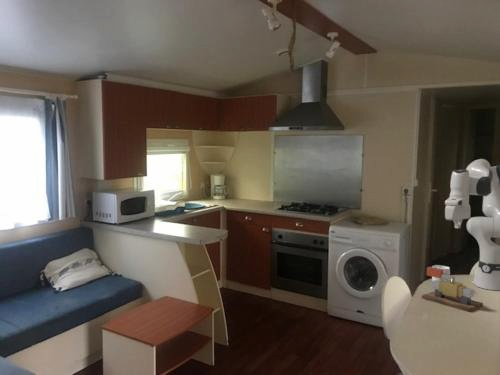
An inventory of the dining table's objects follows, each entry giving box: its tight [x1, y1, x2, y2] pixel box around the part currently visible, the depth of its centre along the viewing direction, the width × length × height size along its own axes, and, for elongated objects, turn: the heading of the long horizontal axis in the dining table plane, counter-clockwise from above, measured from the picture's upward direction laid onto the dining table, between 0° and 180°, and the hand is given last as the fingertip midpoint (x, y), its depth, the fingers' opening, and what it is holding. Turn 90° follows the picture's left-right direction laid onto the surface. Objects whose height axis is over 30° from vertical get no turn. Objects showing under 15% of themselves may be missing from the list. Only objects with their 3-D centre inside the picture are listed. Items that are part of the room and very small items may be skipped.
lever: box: [426, 266, 456, 283], centre depth 202 cm, size 13×3×5 cm, turn 39°
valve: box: [432, 279, 474, 305], centre depth 198 cm, size 6×18×8 cm, turn 38°
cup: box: [431, 264, 451, 282], centre depth 220 cm, size 9×9×12 cm
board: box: [421, 290, 484, 313], centre depth 199 cm, size 14×23×2 cm, turn 38°
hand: (457, 228), depth 208 cm, fingers closed
